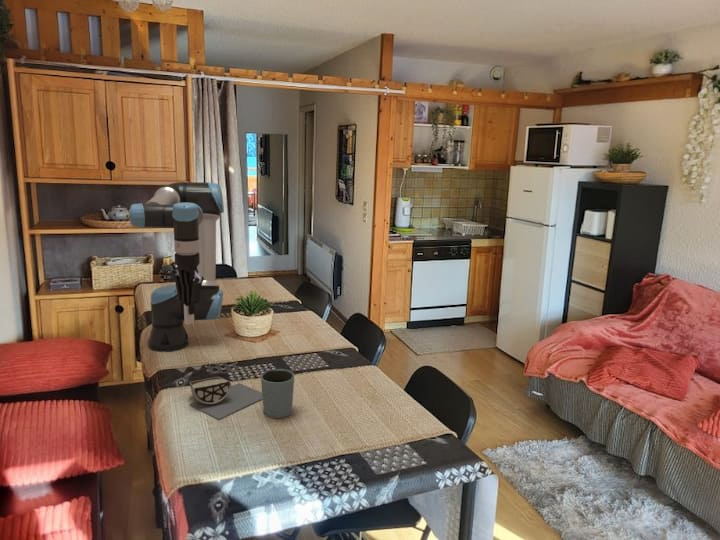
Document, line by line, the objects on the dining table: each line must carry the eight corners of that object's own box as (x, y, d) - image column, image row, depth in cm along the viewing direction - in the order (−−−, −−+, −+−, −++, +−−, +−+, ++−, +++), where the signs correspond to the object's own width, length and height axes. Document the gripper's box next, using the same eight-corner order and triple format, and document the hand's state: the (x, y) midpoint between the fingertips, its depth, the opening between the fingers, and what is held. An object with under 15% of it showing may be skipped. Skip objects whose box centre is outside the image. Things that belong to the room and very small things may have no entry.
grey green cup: (279, 423, 157) (279, 385, 155) (253, 413, 163) (253, 376, 160) (300, 409, 166) (301, 373, 163) (275, 400, 171) (275, 365, 168)
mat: (189, 405, 165) (189, 404, 165) (239, 383, 181) (239, 382, 181) (218, 420, 157) (218, 419, 157) (268, 396, 173) (268, 395, 173)
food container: (185, 401, 170) (194, 409, 161) (184, 382, 169) (192, 389, 161) (224, 393, 176) (234, 401, 168) (222, 375, 176) (232, 381, 167)
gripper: (164, 250, 169) (167, 321, 175) (190, 258, 162) (192, 331, 168) (184, 247, 175) (186, 315, 181) (210, 254, 168) (211, 324, 174)
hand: (189, 322), depth 175 cm, fingers closed
